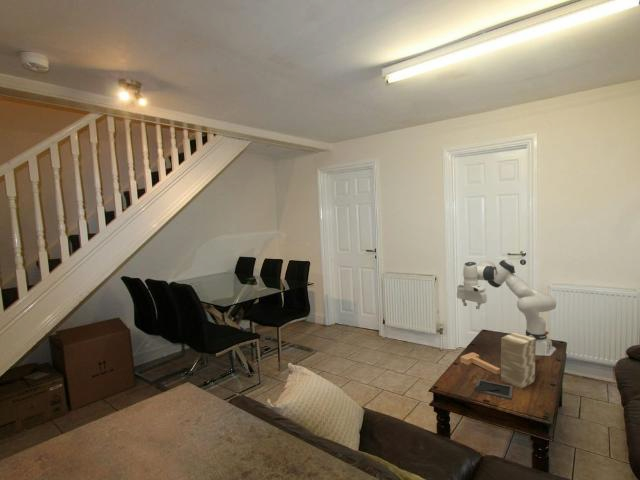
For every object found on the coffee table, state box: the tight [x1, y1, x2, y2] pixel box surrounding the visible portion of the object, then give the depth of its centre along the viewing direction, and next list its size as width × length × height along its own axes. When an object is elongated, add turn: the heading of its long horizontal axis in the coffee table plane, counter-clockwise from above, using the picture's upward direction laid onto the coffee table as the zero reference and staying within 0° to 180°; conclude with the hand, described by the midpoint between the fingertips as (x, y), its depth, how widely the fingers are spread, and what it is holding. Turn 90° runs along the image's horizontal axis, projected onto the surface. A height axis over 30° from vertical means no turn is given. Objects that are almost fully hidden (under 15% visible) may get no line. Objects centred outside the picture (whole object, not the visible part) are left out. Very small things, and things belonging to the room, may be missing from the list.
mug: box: [535, 357, 540, 379], centre depth 209 cm, size 12×8×9 cm, turn 117°
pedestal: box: [500, 331, 536, 390], centre depth 201 cm, size 14×12×26 cm
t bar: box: [459, 352, 501, 376], centre depth 221 cm, size 12×23×4 cm, turn 29°
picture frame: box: [474, 378, 514, 401], centre depth 195 cm, size 13×2×18 cm
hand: (471, 307), depth 230 cm, fingers open, 8 cm apart
